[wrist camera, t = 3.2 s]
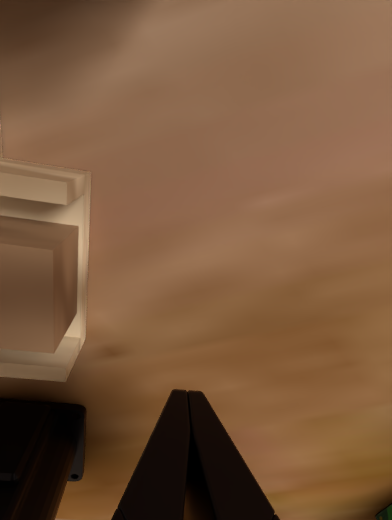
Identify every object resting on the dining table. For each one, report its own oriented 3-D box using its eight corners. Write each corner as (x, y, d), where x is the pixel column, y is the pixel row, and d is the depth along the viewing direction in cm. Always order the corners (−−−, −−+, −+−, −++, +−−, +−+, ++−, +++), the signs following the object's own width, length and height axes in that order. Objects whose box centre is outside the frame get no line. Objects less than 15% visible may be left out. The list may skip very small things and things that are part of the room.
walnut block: (77, 313, 15) (54, 353, 12) (-32, 301, 14) (-81, 341, 12) (78, 226, 13) (52, 250, 11) (-44, 209, 13) (-105, 230, 10)
